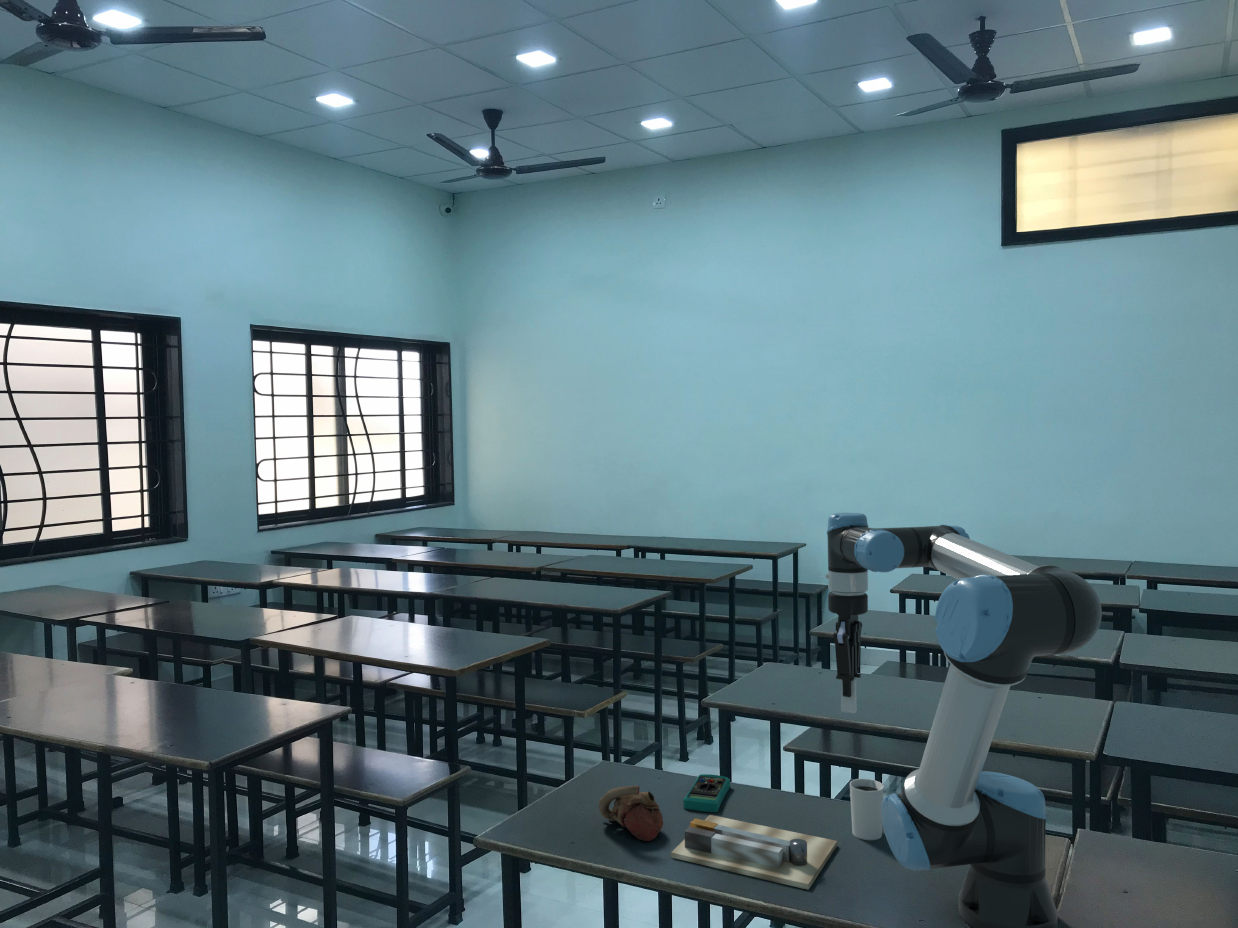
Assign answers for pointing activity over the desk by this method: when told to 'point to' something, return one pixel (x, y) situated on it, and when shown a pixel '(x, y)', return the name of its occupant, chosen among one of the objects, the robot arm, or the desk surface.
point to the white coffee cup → (866, 808)
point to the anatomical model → (633, 811)
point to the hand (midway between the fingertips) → (848, 711)
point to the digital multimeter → (707, 793)
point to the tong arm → (760, 840)
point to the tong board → (761, 871)
